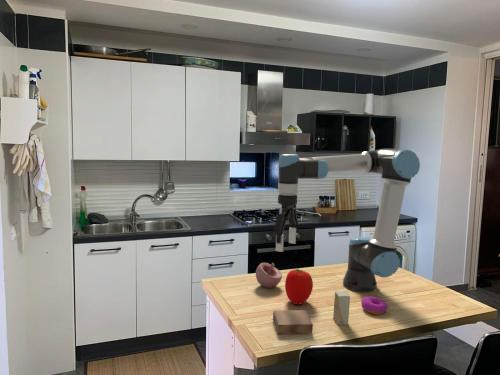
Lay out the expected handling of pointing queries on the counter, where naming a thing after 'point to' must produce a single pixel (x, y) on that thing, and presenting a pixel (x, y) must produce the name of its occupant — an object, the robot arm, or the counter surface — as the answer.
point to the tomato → (298, 286)
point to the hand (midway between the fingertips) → (285, 247)
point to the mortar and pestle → (268, 275)
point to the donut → (374, 305)
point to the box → (341, 307)
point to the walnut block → (292, 322)
